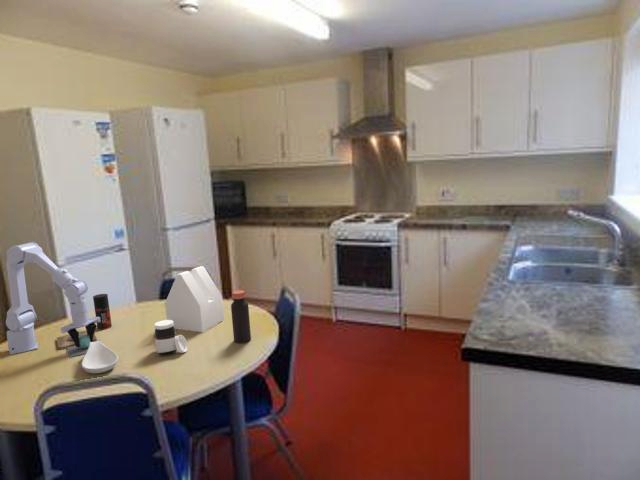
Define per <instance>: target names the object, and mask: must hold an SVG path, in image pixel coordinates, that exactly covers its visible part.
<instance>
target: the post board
mask: <svg viewBox="0 0 640 480" xmlns="http://www.w3.org/2000/svg"><path fill="white" fill-rule="evenodd" d="M78 332H79V331H78ZM81 335H87V331H86V330H85V331H81V332H79V336H81ZM97 340H98V339H97V337H96V334H95V333H94V335H93V341H97ZM56 342H57V343H56V344H57V349H58V351H60V350H65V349H66V350H67V347H70V346H75V343H74V341H73V339H72V338H71V336H70V335H69V334H67V335H63V336H58V337H56Z"/></svg>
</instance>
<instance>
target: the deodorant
mask: <svg viewBox="0 0 640 480" xmlns="http://www.w3.org/2000/svg"><path fill="white" fill-rule="evenodd" d="M108 297H109V296H108V294H107V293H100V294H96V295H93V296H92V299H93V307H94V313H95V317H100V320H101V322H97V323H96V325H97V327H96V329H97V330H99V331H104V330H108V329H110V328H112V326H113V325H112V319H111V318H112V317H111V311H110V310H111V309H110V303H109V298H108Z"/></svg>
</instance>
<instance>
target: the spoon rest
mask: <svg viewBox="0 0 640 480" xmlns="http://www.w3.org/2000/svg"><path fill="white" fill-rule="evenodd" d="M97 340H98V341H96V342H90V343H89V346H88V351H87V353H86V354H84V357H83V358H82V361H81V367H82V369H83V370H84V371H85V372H87V373H89V374H103V373H106V372H108V371H110V370H112V369H114V368H115V366H116V365H117V363H118V361H119V356H118V354H117V353H116V352H114V351H113V350H112V349H110V348H109V347H108V346H106V345H105V344H103V343H102V341H99V340H100V339H97Z"/></svg>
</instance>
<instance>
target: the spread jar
mask: <svg viewBox="0 0 640 480" xmlns="http://www.w3.org/2000/svg"><path fill="white" fill-rule="evenodd" d="M173 325H174V324H173V321H172V320H167V319H163V320H160V321H157V322H155V323H154V332H153V333H154V341H155V350H156V354H157V355H158V356H170V355H172V354H174V353H176V352H177V351H178V352H179V353H180V354H183V353H186V352H187V351H188V342H187V339H186V338H185V336H184V335H183V334H178V335H177V333H176V329H175V328H174V326H173Z"/></svg>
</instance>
